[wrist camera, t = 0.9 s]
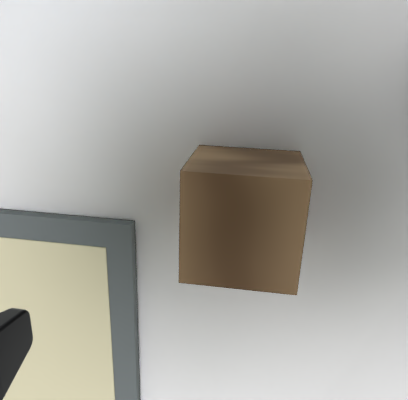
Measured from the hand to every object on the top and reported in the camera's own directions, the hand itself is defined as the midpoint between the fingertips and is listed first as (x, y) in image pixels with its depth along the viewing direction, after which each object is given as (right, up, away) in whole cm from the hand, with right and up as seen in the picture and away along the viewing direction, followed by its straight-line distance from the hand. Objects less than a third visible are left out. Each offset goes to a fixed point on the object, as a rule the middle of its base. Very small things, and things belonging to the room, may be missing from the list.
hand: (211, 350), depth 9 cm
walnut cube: (+2, +4, +11) cm, 12 cm away
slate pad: (-11, -6, +16) cm, 21 cm away
